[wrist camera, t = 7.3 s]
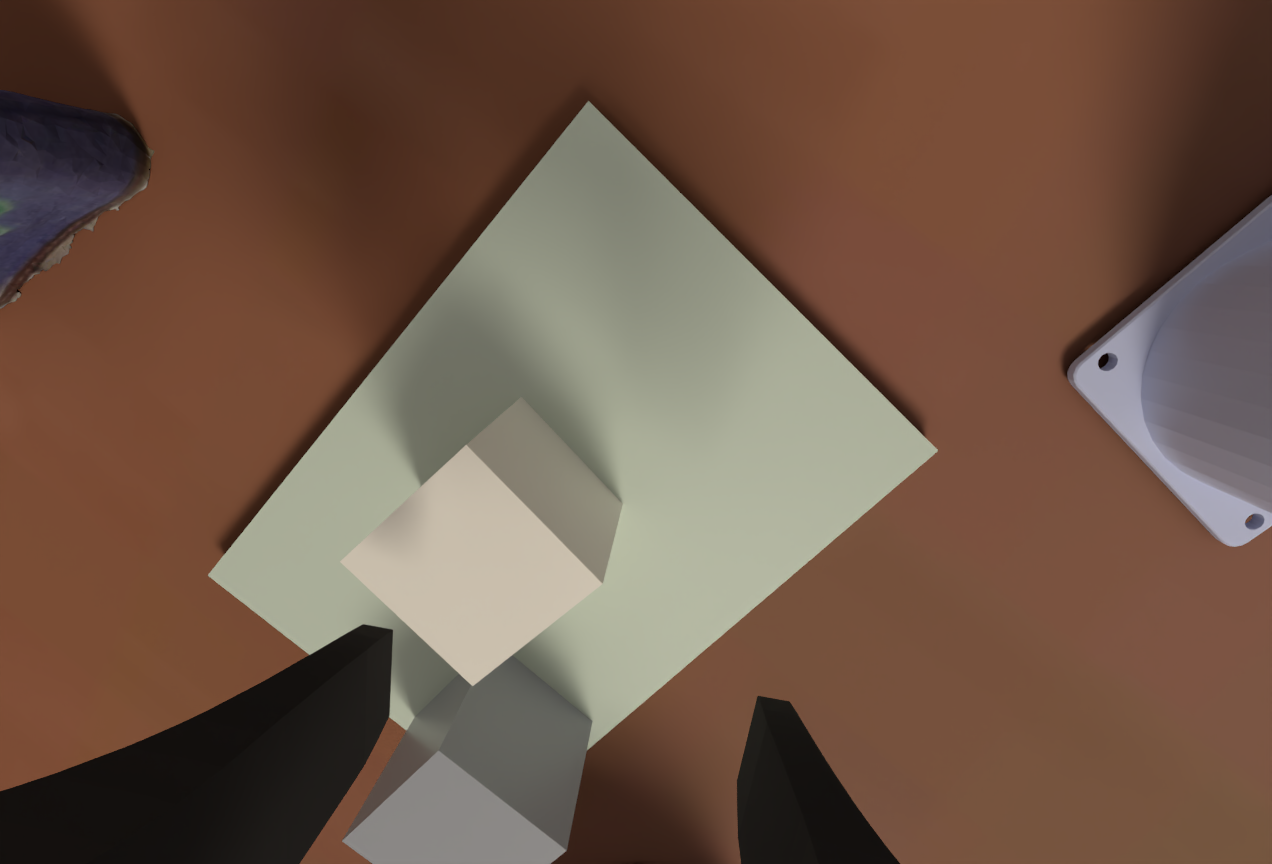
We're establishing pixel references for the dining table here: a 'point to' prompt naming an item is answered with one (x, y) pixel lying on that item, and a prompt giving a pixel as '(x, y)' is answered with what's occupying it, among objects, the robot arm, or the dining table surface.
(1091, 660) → the dining table surface
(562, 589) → the cream colored cube
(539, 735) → the grey sharp-edged cube
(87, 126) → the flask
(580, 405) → the board
